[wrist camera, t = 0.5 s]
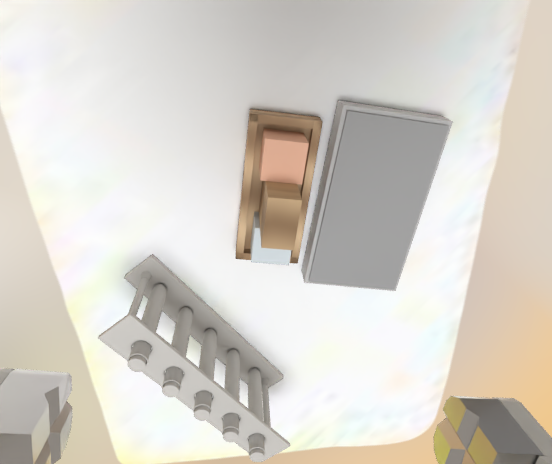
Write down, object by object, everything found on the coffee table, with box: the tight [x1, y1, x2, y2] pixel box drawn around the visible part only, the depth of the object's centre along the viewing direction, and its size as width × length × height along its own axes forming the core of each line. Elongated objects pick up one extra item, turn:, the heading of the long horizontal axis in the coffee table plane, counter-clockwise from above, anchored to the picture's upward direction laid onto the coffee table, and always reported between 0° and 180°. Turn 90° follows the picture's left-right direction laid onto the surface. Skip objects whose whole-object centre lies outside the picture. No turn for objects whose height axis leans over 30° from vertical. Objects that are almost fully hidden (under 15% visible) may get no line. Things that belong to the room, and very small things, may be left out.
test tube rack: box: [98, 254, 290, 462], centre depth 48 cm, size 25×4×13 cm, turn 37°
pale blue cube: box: [251, 211, 291, 265], centre depth 45 cm, size 4×4×4 cm
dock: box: [302, 100, 453, 291], centre depth 46 cm, size 20×11×3 cm, turn 171°
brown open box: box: [236, 109, 322, 263], centre depth 42 cm, size 16×7×10 cm, turn 173°
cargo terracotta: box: [259, 128, 309, 185], centre depth 41 cm, size 4×4×4 cm
